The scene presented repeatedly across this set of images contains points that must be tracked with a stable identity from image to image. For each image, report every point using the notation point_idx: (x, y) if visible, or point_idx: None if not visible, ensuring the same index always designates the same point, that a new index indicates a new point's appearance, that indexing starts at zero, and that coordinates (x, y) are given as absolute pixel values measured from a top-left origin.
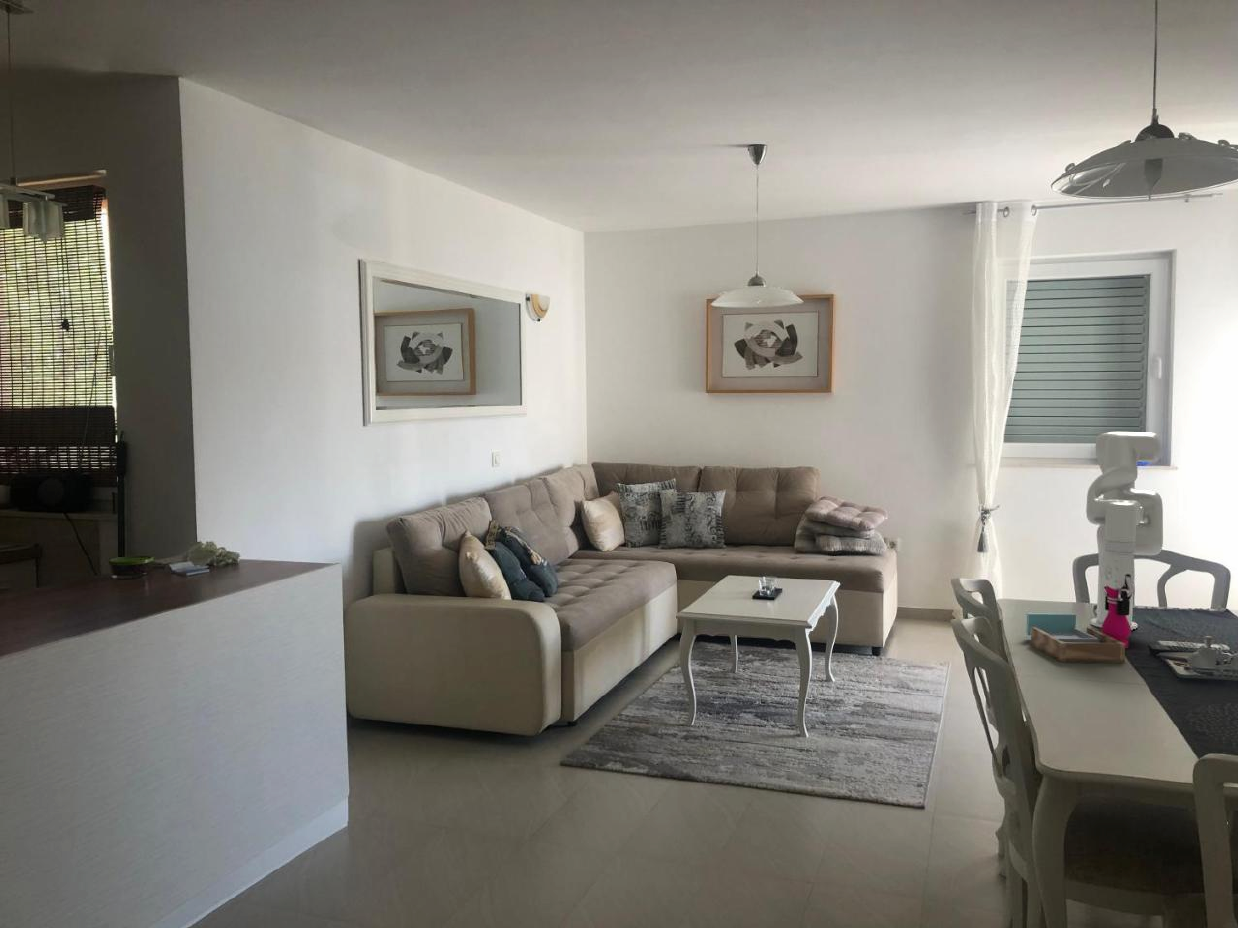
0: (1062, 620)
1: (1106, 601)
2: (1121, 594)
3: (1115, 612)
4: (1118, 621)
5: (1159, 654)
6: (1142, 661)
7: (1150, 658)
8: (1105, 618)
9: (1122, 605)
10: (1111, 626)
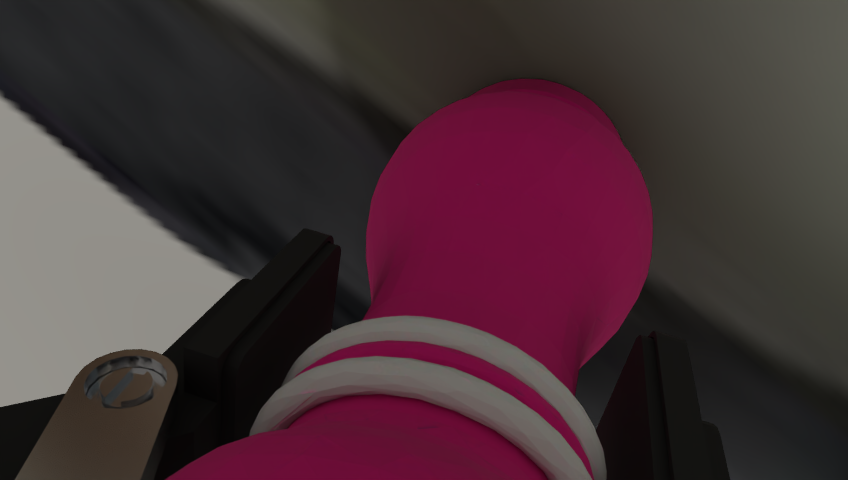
0: None
1: (662, 424)
2: (36, 463)
3: (389, 272)
4: (382, 229)
5: None
6: (85, 25)
7: (168, 147)
8: (584, 213)
9: (188, 333)
10: (426, 140)
